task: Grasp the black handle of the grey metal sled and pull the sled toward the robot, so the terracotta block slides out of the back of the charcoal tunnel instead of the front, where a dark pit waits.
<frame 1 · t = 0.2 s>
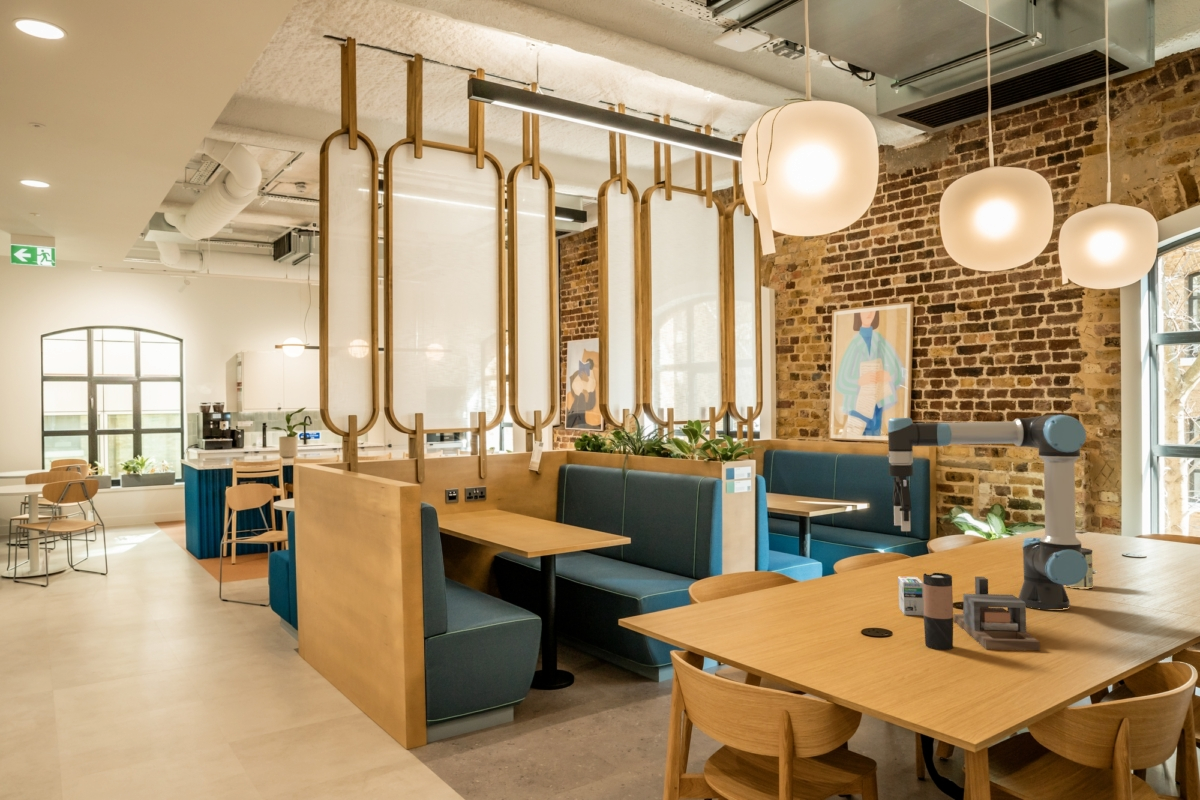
hand: (902, 528, 261), 28 cm above the table, tool pointing down, fingers open, 13 cm apart
light bulb box: (911, 612, 261), on the table
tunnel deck: (994, 635, 232), on the table
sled: (989, 602, 236), point 9 cm above the table, slide at 0.0 cm
travel mug: (939, 647, 222), on the table
coffee can: (1077, 587, 295), on the table
block: (994, 627, 232), point 2 cm above the table, touching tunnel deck
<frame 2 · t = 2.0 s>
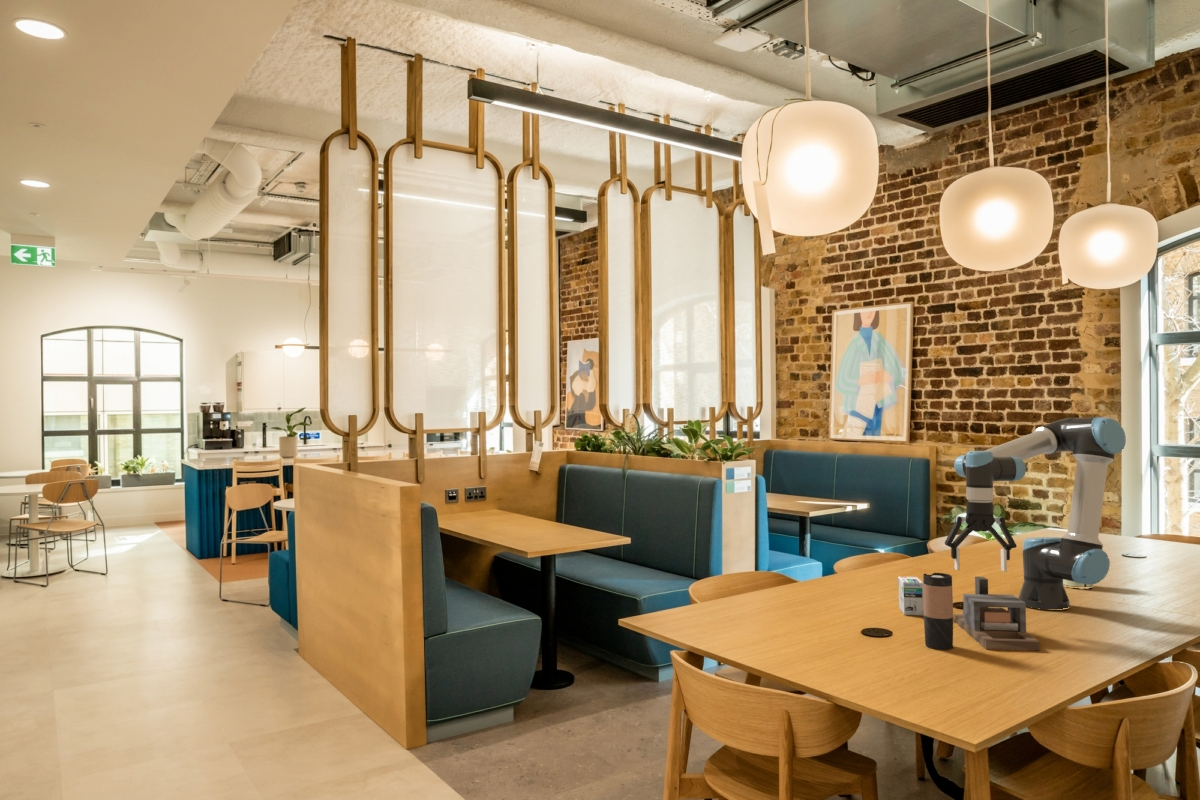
hand: (980, 570, 242), 17 cm above the table, tool pointing down, fingers open, 13 cm apart
nothing on the table moved.
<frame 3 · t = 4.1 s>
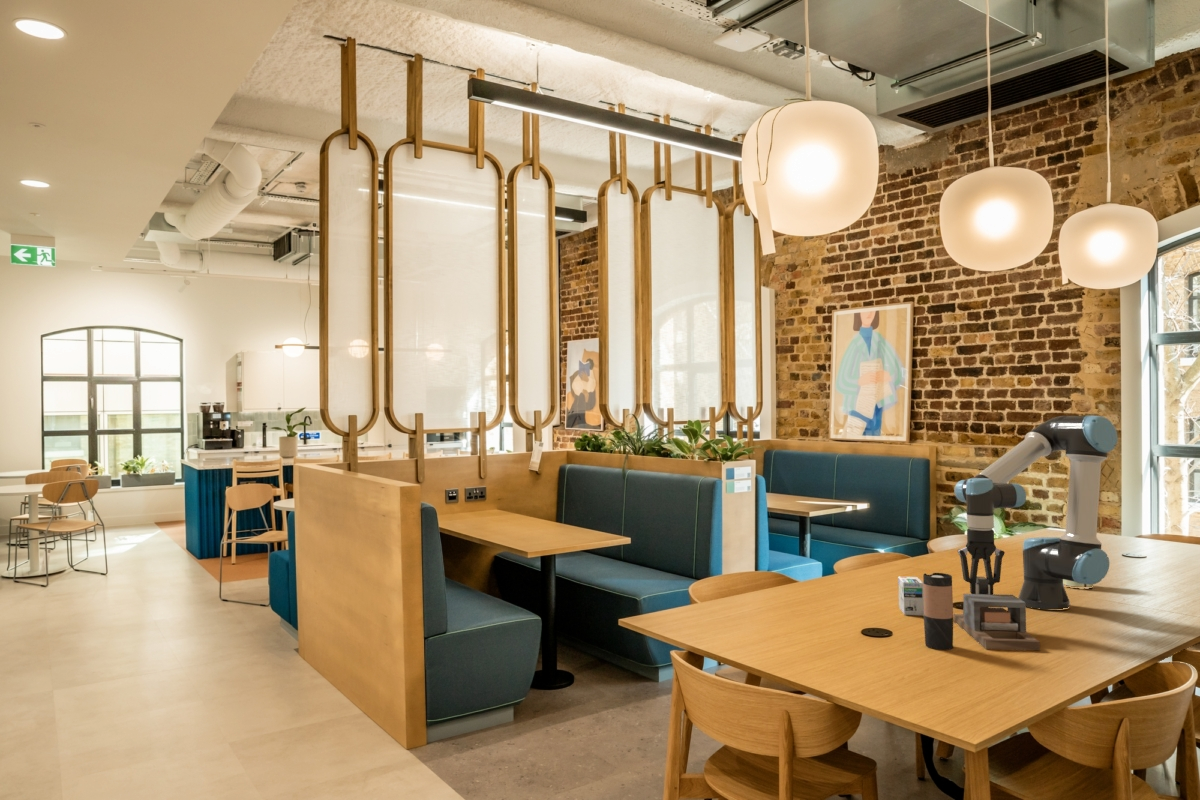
hand: (982, 604, 242), 7 cm above the table, tool pointing down, fingers closed on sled, 2 cm apart
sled: (989, 602, 236), point 9 cm above the table, slide at 0.0 cm, touching gripper
everything else where it was.
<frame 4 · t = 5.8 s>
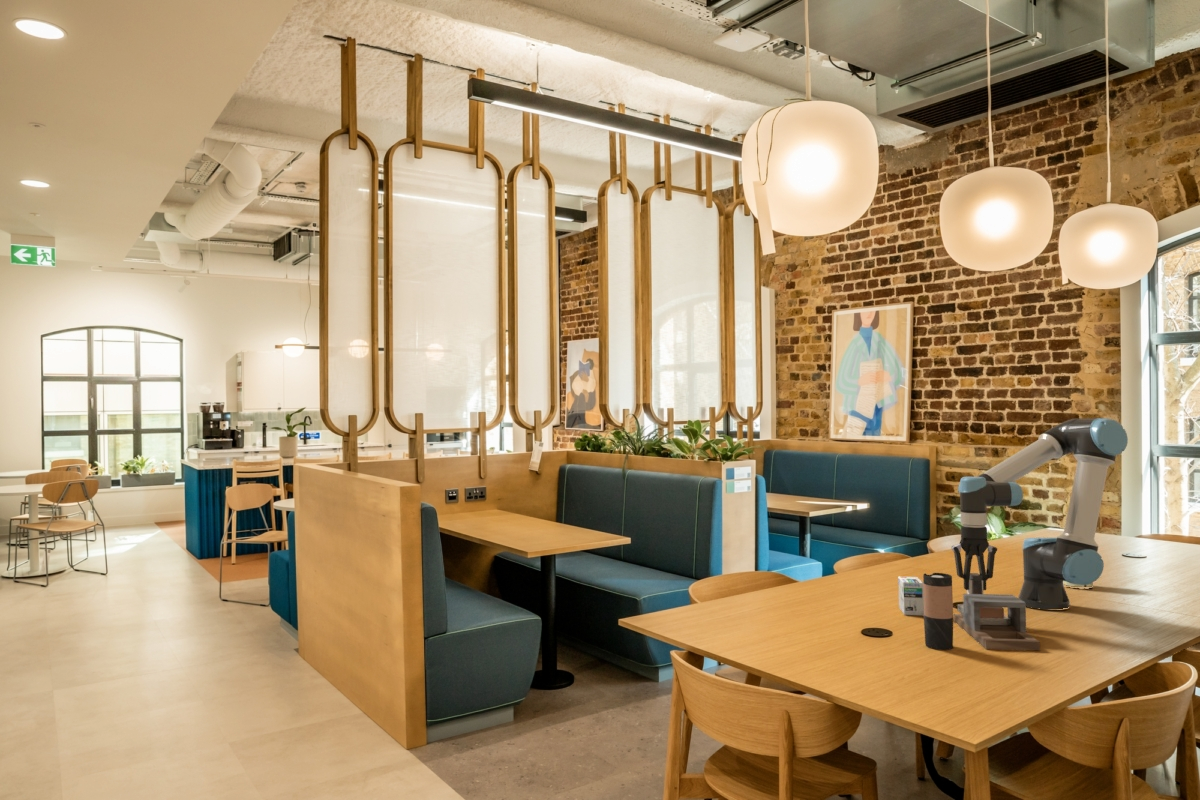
hand: (975, 600, 249), 7 cm above the table, tool pointing down, fingers closed on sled, 3 cm apart
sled: (982, 598, 242), point 9 cm above the table, slide at 5.7 cm, touching gripper
block: (988, 622, 237), point 3 cm above the table
everything else where it was.
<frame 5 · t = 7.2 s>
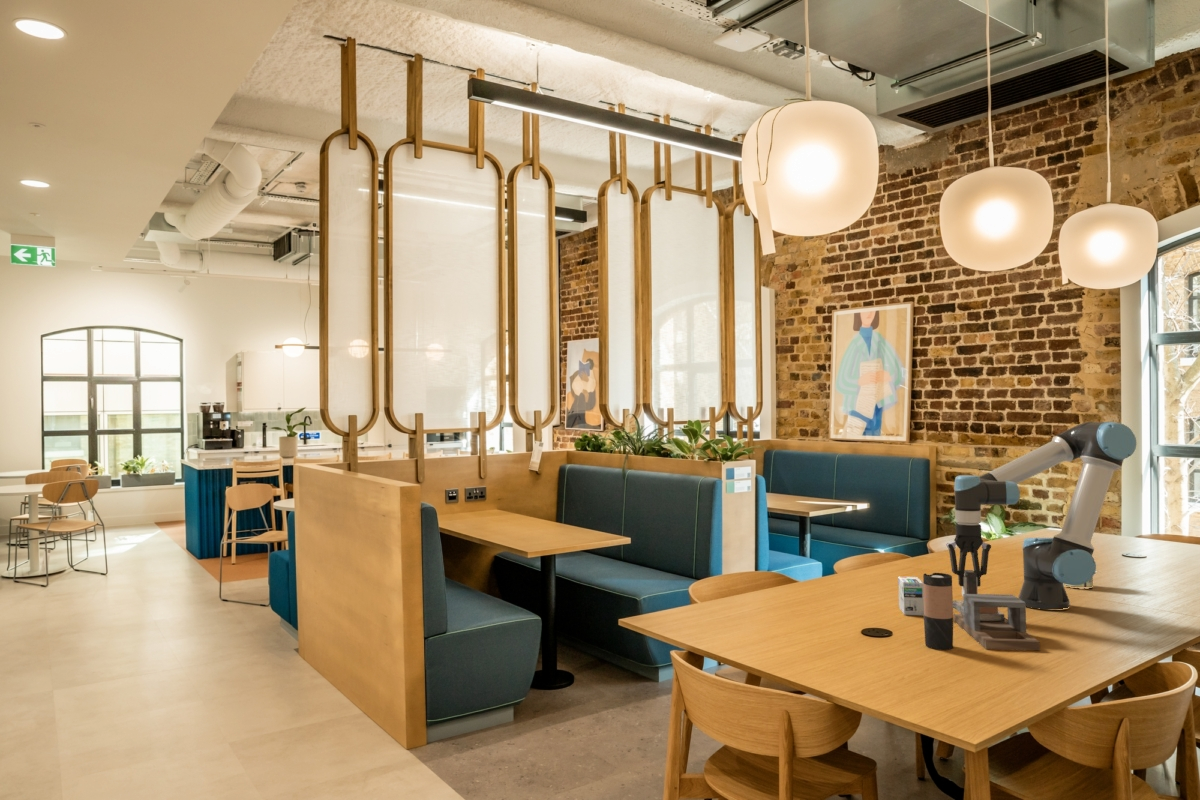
hand: (969, 596, 254), 7 cm above the table, tool pointing down, fingers closed on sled, 2 cm apart
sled: (977, 594, 247), point 9 cm above the table, slide at 10.8 cm, touching block, gripper
block: (982, 618, 242), point 3 cm above the table, touching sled, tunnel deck
everything else where it was.
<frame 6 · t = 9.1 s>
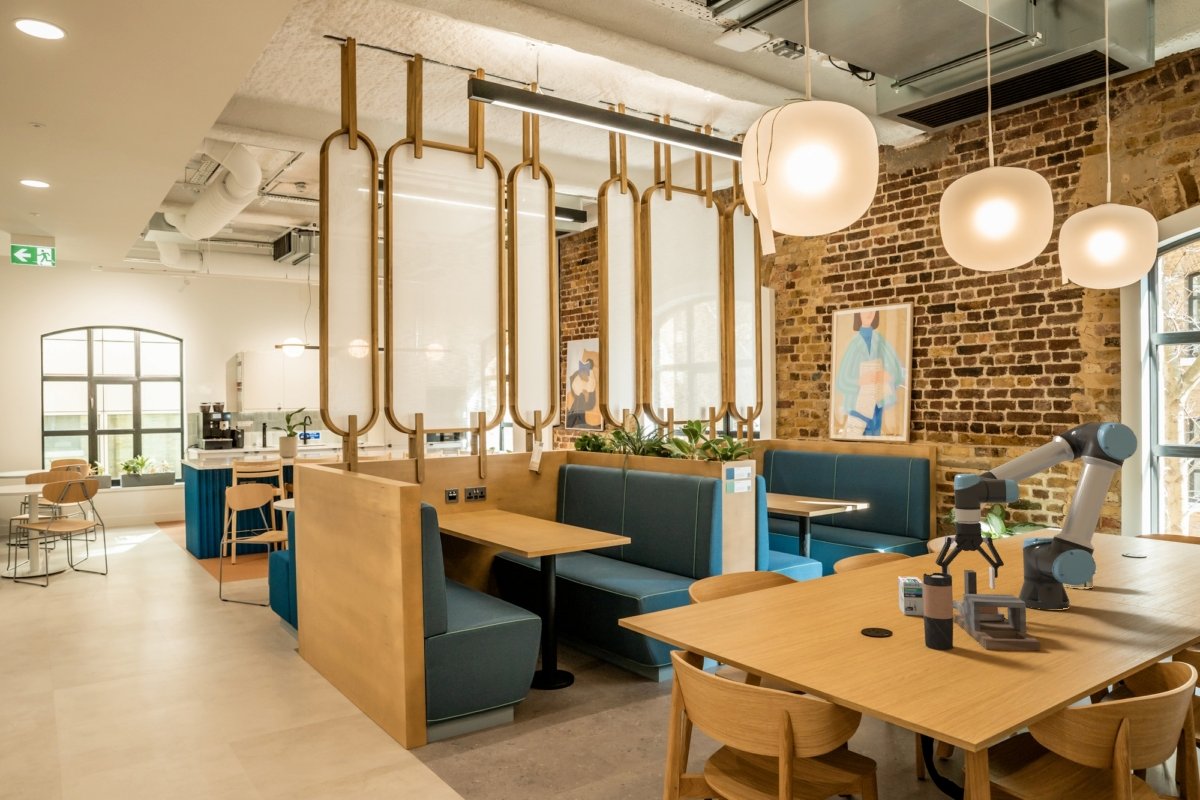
hand: (970, 587, 254), 9 cm above the table, tool pointing down, fingers open, 13 cm apart
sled: (977, 594, 247), point 9 cm above the table, slide at 10.8 cm, touching block
everything else where it was.
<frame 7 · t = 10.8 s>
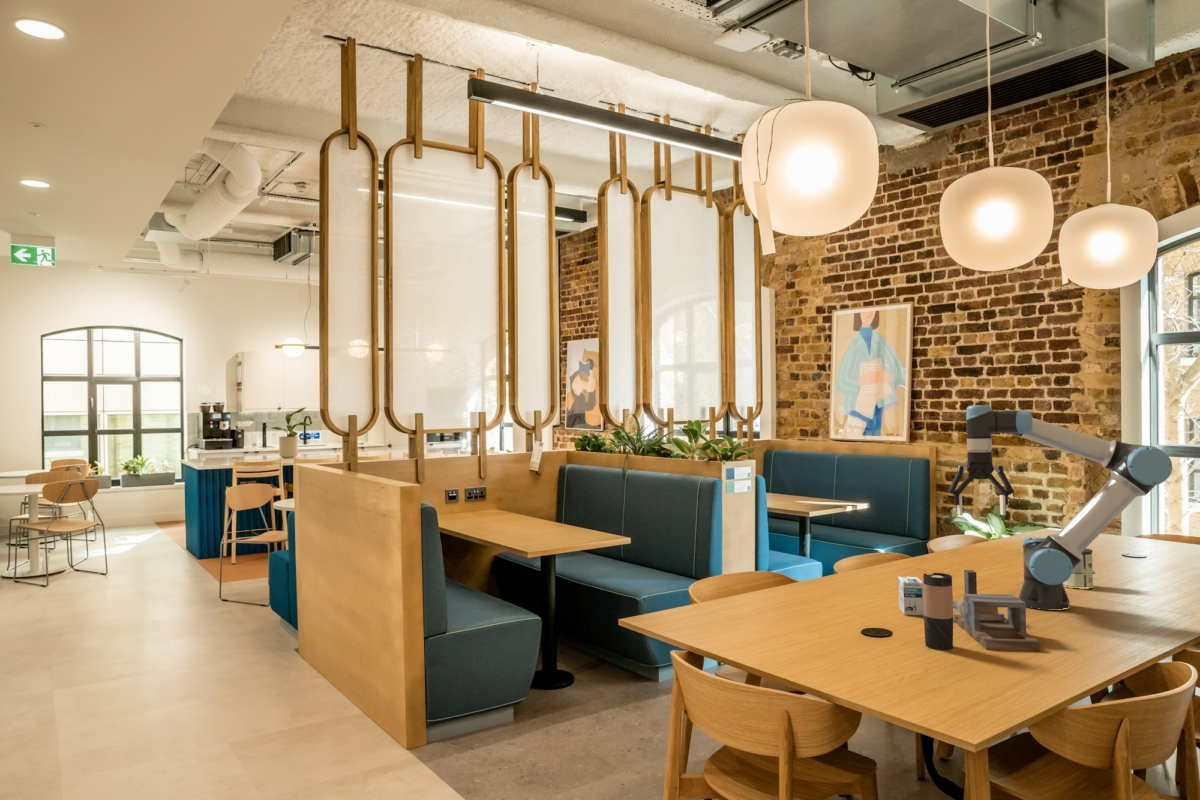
hand: (981, 515, 263), 32 cm above the table, tool pointing down, fingers open, 13 cm apart
nothing on the table moved.
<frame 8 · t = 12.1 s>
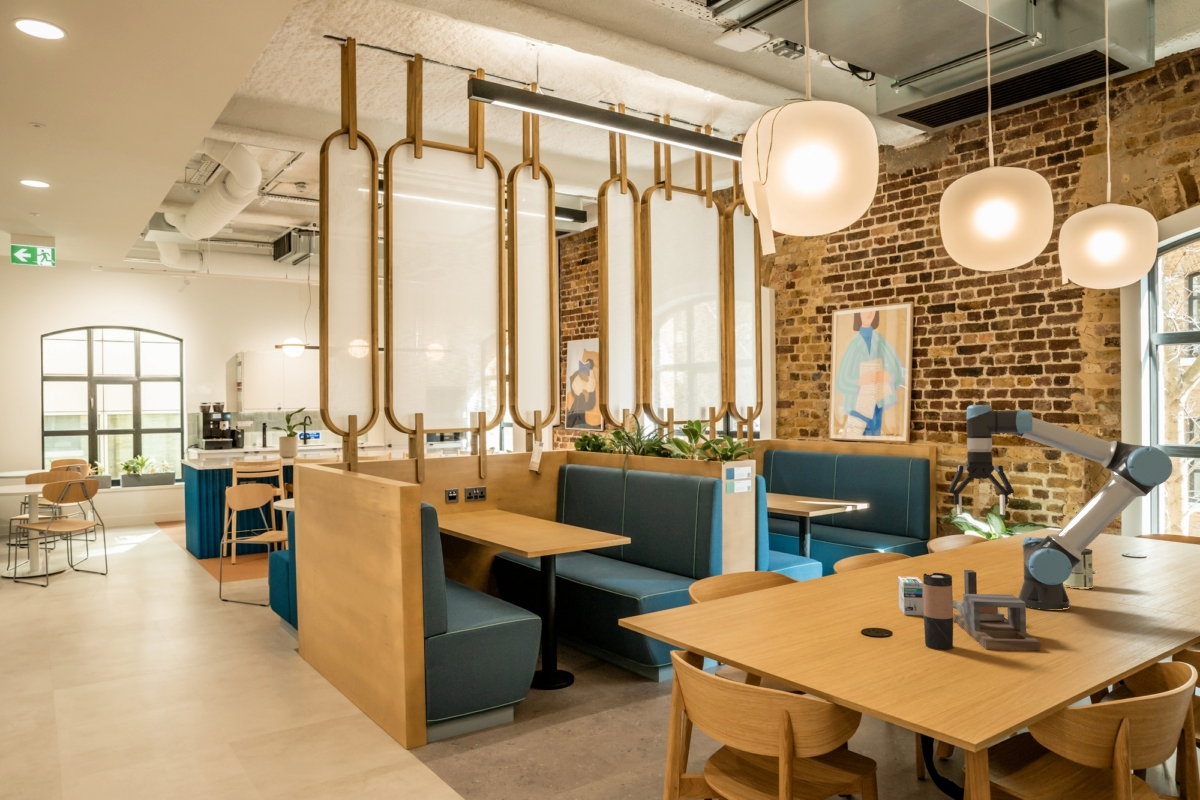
hand: (981, 514, 263), 32 cm above the table, tool pointing down, fingers open, 13 cm apart
nothing on the table moved.
at the end: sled slide at 10.8 cm; block inside the target area on the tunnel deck (2.4 cm from its centre), point 2.5 cm above the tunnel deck's base; block tilted 0° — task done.
